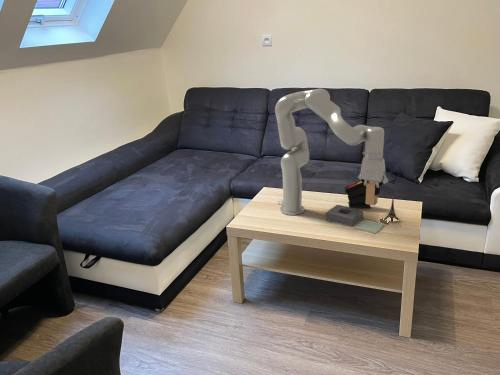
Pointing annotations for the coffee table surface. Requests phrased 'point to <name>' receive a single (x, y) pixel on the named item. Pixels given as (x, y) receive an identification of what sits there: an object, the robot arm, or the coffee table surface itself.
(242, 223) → the coffee table surface
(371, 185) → the plug
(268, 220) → the coffee table surface
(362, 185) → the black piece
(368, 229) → the mat
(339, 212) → the grey flat block
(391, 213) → the eiffel tower figurine
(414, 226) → the coffee table surface
